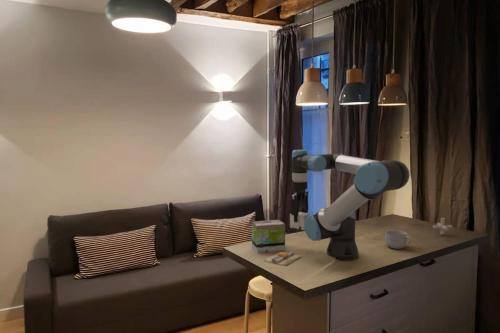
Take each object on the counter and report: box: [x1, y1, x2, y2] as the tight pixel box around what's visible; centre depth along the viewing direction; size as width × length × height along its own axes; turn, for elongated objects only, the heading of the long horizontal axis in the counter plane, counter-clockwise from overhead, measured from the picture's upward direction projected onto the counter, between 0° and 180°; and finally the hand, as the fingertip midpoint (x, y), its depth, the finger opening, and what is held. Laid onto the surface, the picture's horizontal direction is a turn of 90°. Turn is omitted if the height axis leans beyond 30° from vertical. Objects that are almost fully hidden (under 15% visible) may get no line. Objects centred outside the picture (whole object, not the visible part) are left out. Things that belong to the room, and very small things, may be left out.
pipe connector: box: [432, 217, 453, 235], centre depth 218 cm, size 10×10×10 cm
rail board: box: [263, 250, 302, 267], centre depth 182 cm, size 12×14×3 cm
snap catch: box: [277, 251, 288, 257], centre depth 182 cm, size 4×3×1 cm
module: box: [289, 211, 311, 231], centre depth 194 cm, size 8×6×7 cm
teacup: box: [384, 229, 412, 250], centre depth 198 cm, size 14×11×8 cm
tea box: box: [251, 219, 286, 254], centre depth 198 cm, size 15×10×15 cm
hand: (300, 226), depth 194 cm, fingers closed on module, 6 cm apart
